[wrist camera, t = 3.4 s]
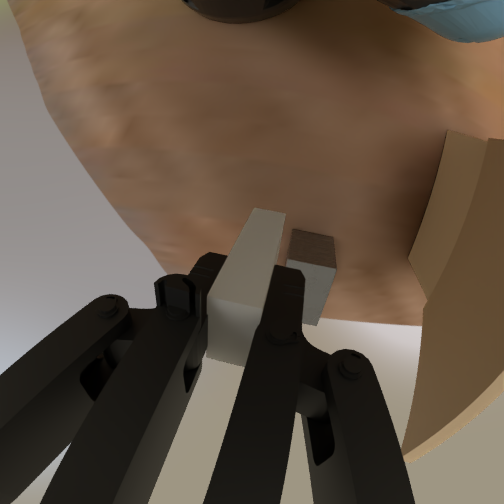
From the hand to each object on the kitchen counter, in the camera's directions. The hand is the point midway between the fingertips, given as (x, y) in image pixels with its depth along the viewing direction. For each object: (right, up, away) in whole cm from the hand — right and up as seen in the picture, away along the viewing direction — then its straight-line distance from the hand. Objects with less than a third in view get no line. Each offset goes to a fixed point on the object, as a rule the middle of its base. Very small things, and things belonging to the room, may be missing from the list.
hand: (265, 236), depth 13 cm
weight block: (+6, -2, +21) cm, 22 cm away
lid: (+14, -3, -1) cm, 14 cm away
